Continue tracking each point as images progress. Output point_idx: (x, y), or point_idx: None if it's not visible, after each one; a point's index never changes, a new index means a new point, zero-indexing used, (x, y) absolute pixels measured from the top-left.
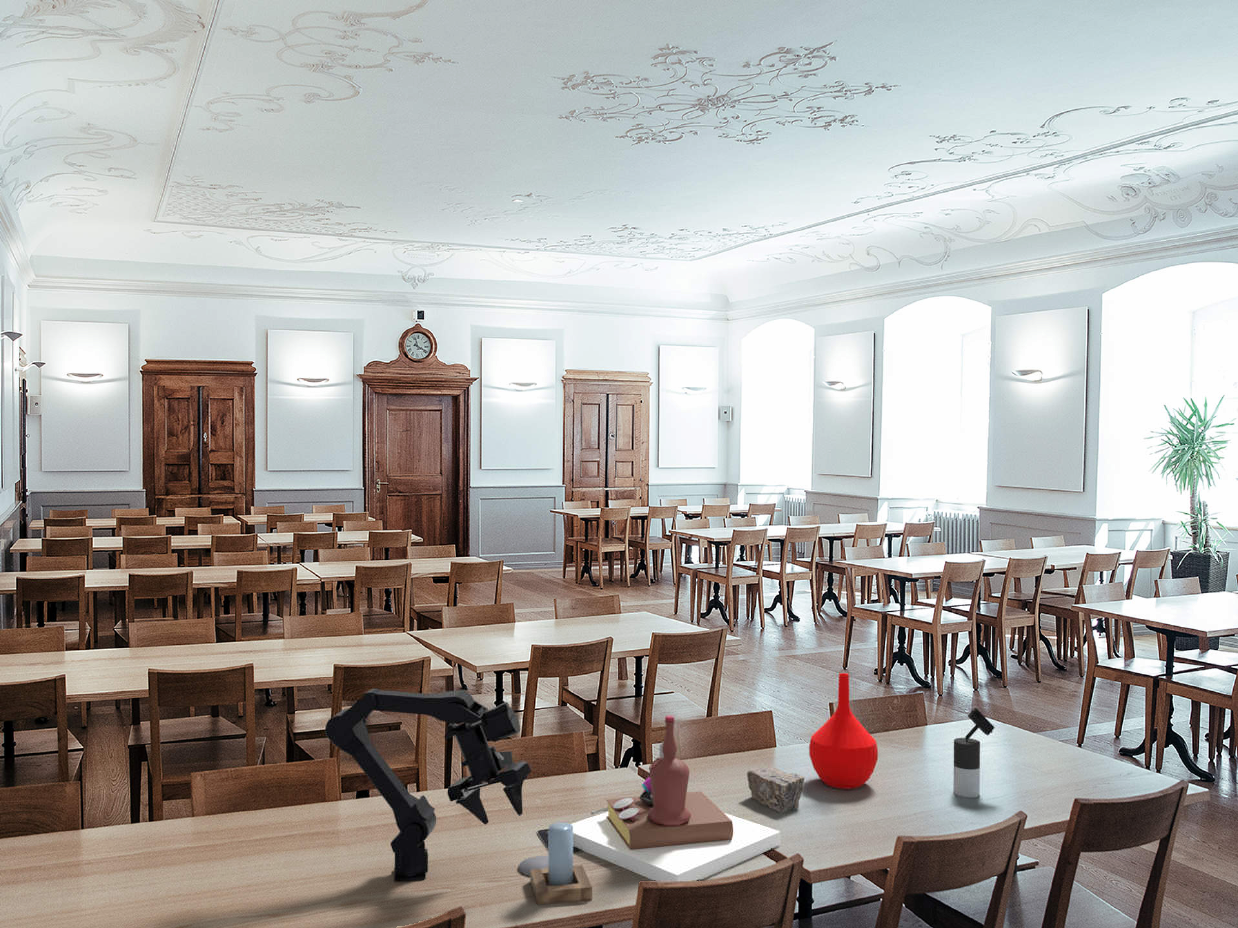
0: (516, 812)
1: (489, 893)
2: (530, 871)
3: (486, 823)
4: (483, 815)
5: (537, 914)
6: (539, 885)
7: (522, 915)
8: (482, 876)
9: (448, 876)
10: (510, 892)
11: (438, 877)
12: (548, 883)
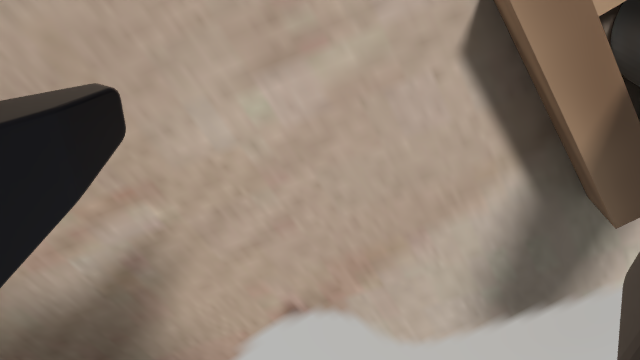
0: (619, 339)
1: (341, 181)
2: (508, 2)
3: (123, 126)
4: (50, 169)
5: (606, 265)
6: (612, 167)
7: (549, 289)
8: (202, 25)
9: None
10: (430, 139)
11: None
12: (636, 75)
